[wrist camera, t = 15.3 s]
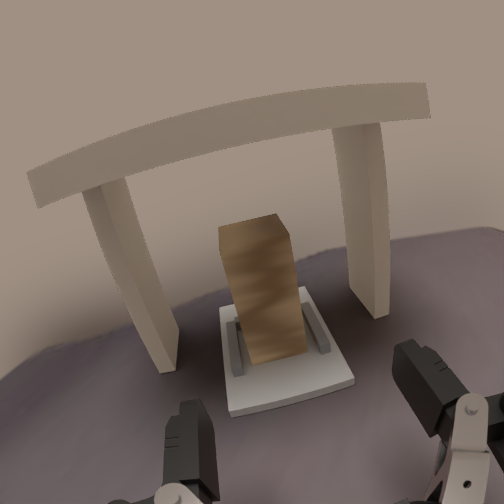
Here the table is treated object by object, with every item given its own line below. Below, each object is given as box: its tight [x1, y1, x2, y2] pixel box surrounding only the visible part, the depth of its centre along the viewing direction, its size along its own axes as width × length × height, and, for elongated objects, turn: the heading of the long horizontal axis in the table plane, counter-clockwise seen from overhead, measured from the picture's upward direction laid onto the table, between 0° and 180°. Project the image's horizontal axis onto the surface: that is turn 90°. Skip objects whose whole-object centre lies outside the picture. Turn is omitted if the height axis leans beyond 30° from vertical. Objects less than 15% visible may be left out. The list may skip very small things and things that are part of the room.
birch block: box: [218, 214, 308, 366], centre depth 23 cm, size 4×4×10 cm
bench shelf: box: [27, 83, 431, 418], centre depth 22 cm, size 21×14×19 cm, turn 98°
